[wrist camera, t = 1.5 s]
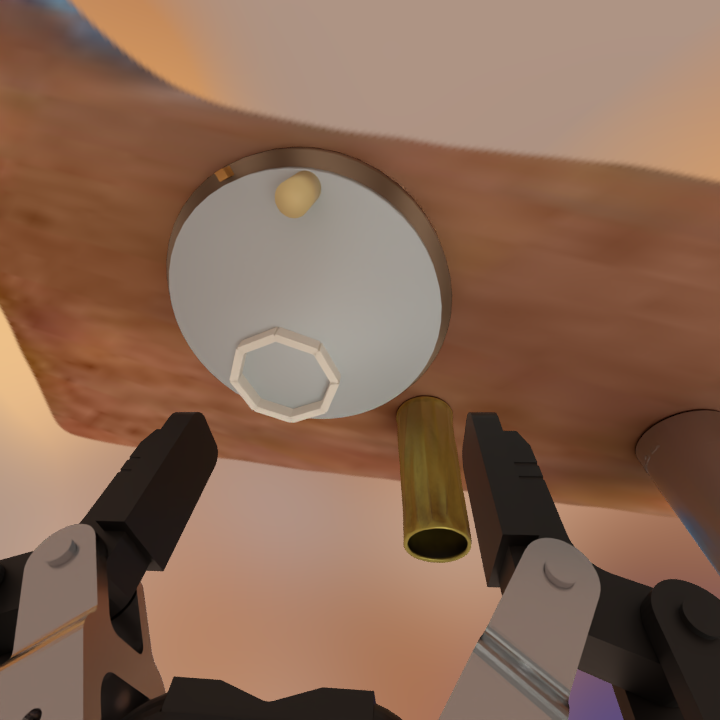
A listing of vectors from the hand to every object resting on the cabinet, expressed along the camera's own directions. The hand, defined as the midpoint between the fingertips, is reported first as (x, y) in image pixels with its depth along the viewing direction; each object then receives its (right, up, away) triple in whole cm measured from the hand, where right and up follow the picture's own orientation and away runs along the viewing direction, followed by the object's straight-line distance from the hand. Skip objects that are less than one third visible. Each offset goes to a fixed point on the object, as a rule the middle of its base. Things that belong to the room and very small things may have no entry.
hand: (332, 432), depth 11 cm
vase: (+8, -4, +28) cm, 30 cm away
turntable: (-4, +6, +20) cm, 21 cm away
